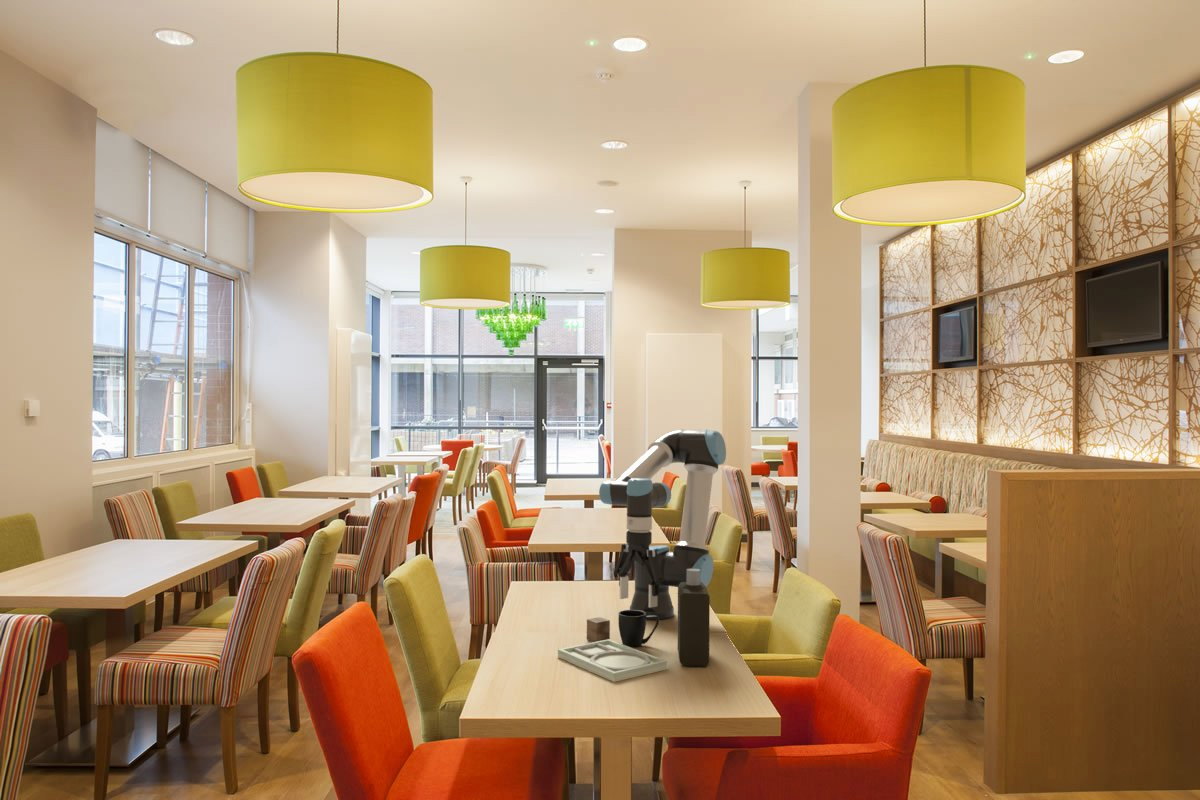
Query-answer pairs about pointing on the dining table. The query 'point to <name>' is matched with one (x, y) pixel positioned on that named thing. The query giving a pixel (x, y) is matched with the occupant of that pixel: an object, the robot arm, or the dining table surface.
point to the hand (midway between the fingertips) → (638, 602)
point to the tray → (612, 660)
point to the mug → (634, 627)
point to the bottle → (693, 621)
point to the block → (598, 629)
